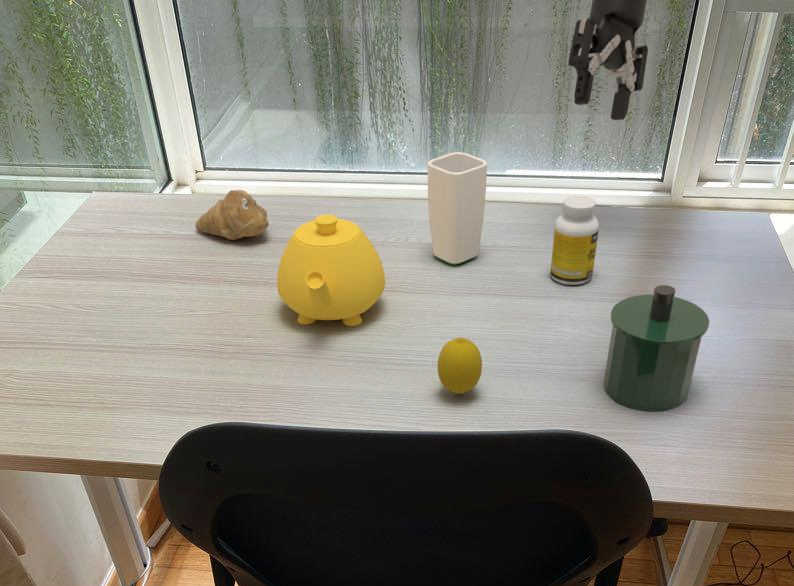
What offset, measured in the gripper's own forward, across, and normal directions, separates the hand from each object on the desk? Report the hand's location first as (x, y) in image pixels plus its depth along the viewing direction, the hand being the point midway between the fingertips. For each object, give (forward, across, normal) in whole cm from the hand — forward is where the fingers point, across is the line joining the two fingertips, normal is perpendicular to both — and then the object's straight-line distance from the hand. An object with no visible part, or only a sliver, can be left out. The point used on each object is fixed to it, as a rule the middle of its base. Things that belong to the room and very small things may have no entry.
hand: (599, 112), depth 127 cm
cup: (+22, -8, +18) cm, 29 cm away
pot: (+37, -11, -24) cm, 46 cm away
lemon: (+41, -29, -9) cm, 51 cm away
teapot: (+34, -31, +17) cm, 49 cm away
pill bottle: (+23, +1, +1) cm, 23 cm away
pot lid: (+29, -15, -27) cm, 42 cm away
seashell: (+23, -30, +49) cm, 62 cm away
